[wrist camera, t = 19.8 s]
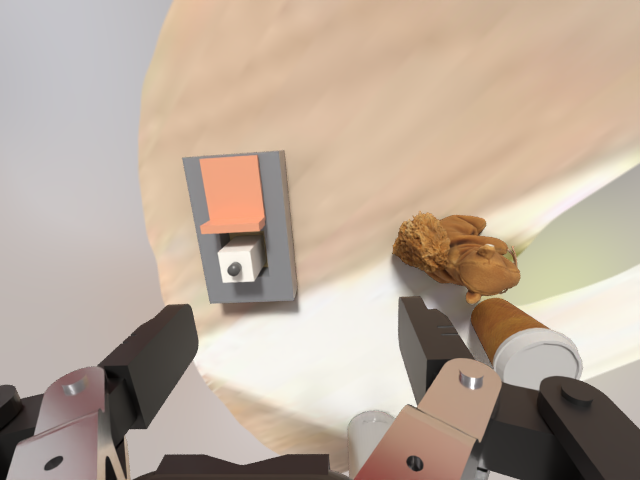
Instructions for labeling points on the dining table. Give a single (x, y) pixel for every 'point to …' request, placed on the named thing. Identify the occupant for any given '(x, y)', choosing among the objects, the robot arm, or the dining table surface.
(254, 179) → the shutter
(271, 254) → the socket block
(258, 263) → the plug
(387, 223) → the dining table surface
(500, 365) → the disposable coffee cup
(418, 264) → the stuffed squirrel
